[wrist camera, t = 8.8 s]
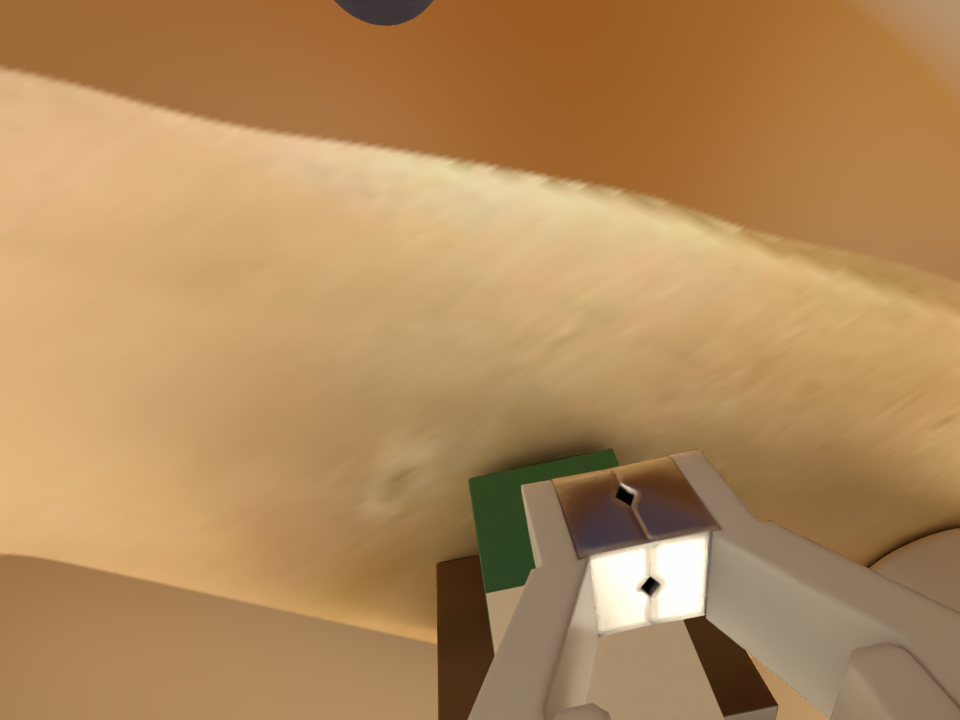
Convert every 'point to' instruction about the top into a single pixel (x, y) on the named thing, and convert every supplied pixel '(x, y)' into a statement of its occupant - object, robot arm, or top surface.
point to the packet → (619, 657)
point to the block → (472, 652)
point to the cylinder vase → (927, 567)
